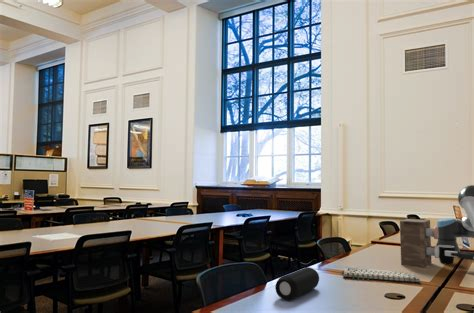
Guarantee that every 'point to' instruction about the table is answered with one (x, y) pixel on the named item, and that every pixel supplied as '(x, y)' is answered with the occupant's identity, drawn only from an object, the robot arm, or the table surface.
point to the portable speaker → (297, 283)
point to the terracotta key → (432, 232)
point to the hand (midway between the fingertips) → (445, 253)
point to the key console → (415, 243)
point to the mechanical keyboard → (380, 276)
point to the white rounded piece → (433, 251)
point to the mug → (442, 256)
